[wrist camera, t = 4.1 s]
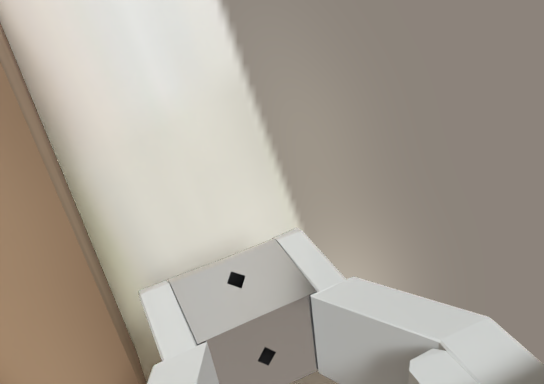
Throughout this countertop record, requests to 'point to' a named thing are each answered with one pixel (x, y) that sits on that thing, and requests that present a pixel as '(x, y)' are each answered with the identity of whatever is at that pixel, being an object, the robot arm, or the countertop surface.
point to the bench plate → (49, 263)
